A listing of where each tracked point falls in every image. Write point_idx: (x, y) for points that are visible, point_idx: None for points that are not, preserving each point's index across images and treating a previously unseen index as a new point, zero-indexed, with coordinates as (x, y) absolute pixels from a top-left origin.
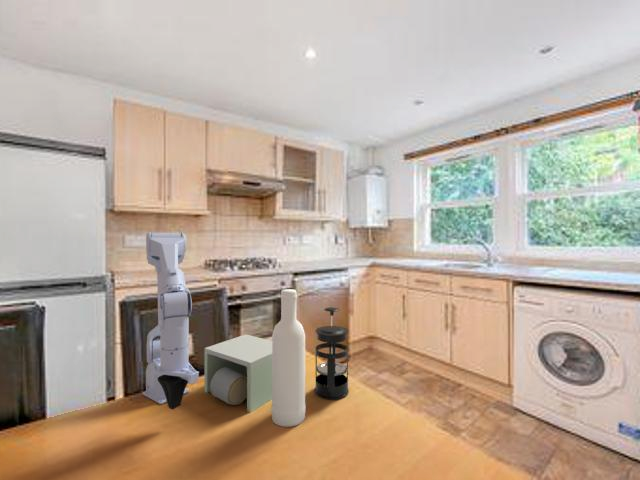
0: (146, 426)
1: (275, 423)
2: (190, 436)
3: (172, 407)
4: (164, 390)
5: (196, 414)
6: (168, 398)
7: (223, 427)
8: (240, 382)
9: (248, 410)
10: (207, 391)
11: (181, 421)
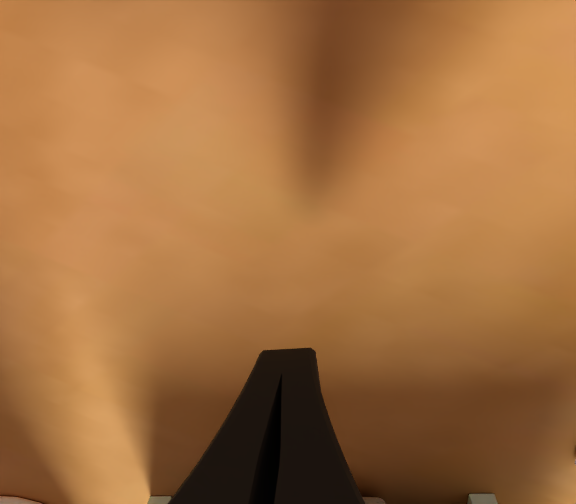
0: (466, 172)
1: (7, 498)
2: (142, 289)
3: (256, 365)
4: (325, 499)
5: (322, 389)
6: (282, 421)
7: (113, 401)
8: None
9: (160, 500)
10: (471, 502)
11: (323, 322)
